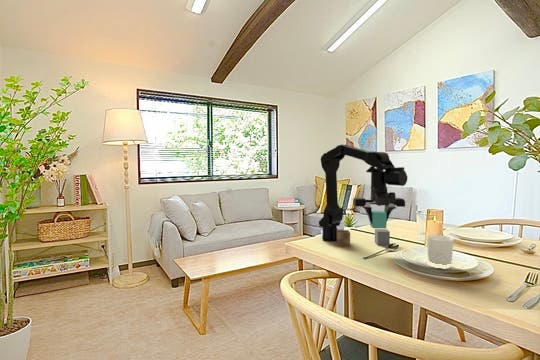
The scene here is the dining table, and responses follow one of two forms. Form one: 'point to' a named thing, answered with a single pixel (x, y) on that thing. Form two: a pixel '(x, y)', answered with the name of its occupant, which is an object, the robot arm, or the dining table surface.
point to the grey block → (382, 237)
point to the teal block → (379, 219)
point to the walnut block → (343, 238)
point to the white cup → (440, 249)
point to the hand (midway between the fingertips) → (378, 223)
